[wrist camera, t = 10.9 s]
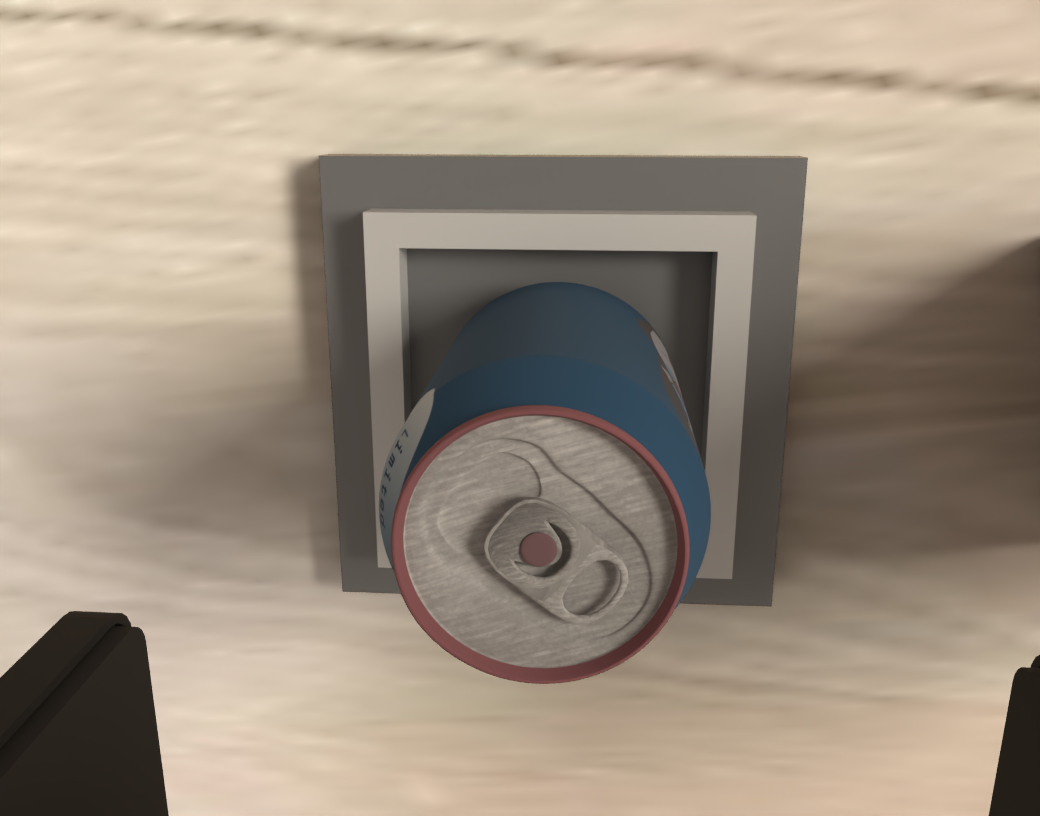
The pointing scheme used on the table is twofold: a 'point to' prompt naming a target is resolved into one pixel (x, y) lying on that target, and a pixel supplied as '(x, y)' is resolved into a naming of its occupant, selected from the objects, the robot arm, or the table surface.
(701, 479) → the soda can
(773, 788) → the table surface
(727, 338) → the holder plate
